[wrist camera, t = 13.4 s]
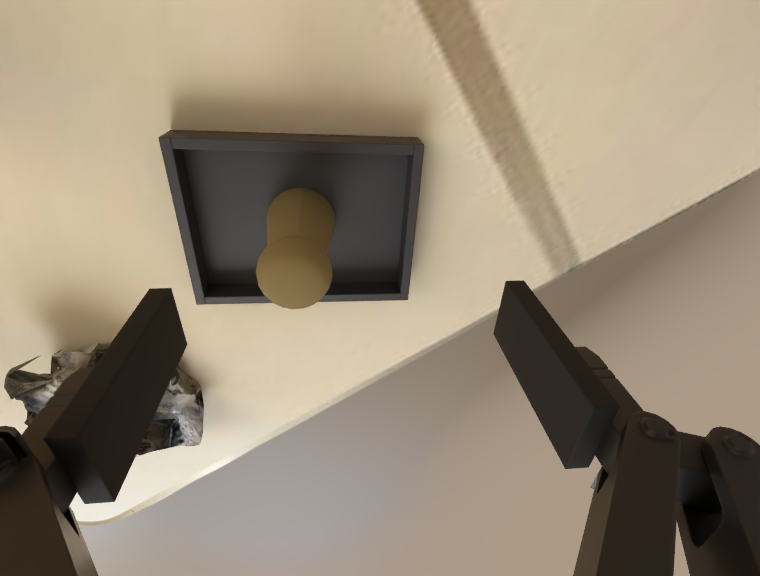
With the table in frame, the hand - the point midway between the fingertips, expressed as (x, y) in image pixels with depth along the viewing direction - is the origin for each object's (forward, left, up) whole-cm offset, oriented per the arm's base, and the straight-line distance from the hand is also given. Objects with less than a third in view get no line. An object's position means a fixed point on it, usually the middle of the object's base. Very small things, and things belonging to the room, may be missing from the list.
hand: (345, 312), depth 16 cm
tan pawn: (+3, +5, -21) cm, 22 cm away
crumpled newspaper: (+22, +24, -22) cm, 39 cm away
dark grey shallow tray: (+3, +5, -21) cm, 22 cm away
